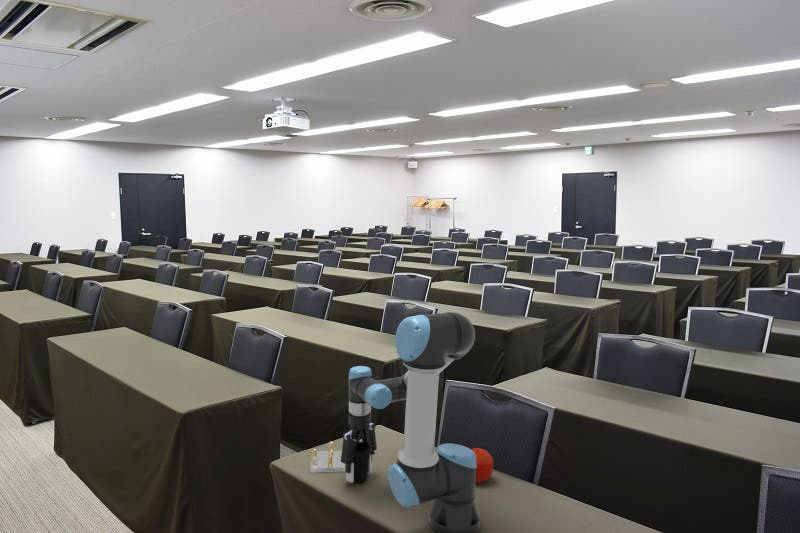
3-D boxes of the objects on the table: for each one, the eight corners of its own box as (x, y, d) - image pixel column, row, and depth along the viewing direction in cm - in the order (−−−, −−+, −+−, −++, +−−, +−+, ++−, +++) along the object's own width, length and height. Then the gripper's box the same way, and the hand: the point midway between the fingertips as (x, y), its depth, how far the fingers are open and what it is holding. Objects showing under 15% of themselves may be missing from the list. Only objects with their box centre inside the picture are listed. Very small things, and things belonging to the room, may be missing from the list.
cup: (344, 483, 190) (344, 449, 189) (352, 473, 197) (352, 440, 196) (365, 486, 188) (365, 452, 187) (373, 476, 195) (373, 443, 194)
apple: (497, 478, 196) (498, 446, 195) (484, 490, 187) (486, 457, 186) (470, 470, 201) (472, 439, 200) (457, 481, 193) (458, 449, 192)
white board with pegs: (350, 471, 198) (350, 456, 198) (310, 472, 197) (310, 457, 196) (350, 454, 212) (350, 440, 212) (312, 455, 211) (312, 441, 210)
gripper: (372, 401, 200) (371, 462, 203) (329, 417, 184) (329, 483, 187) (388, 406, 196) (387, 469, 198) (345, 423, 180) (344, 491, 182)
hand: (358, 476), depth 192 cm, fingers open, 8 cm apart
